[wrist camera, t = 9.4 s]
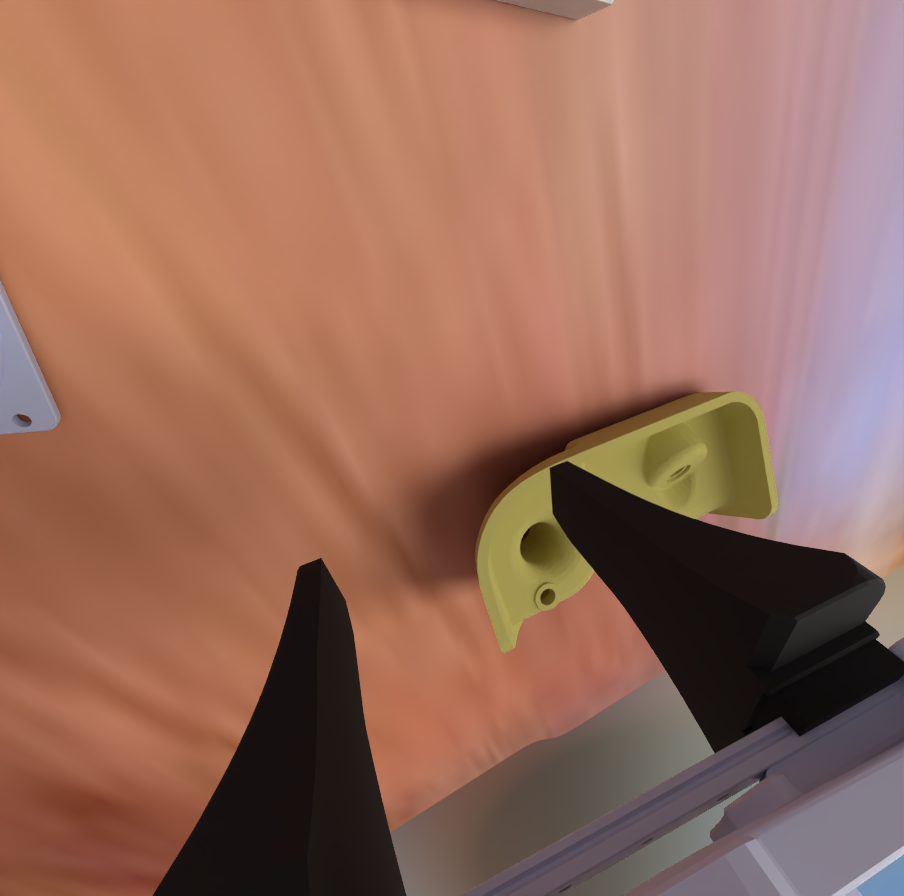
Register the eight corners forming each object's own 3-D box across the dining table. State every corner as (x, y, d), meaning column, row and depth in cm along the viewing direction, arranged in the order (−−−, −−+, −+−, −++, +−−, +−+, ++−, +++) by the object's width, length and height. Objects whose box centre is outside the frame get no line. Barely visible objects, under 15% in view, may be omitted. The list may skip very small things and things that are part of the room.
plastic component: (758, 380, 26) (783, 533, 28) (662, 385, 33) (687, 507, 35) (453, 503, 20) (509, 681, 22) (417, 478, 28) (462, 615, 29)
